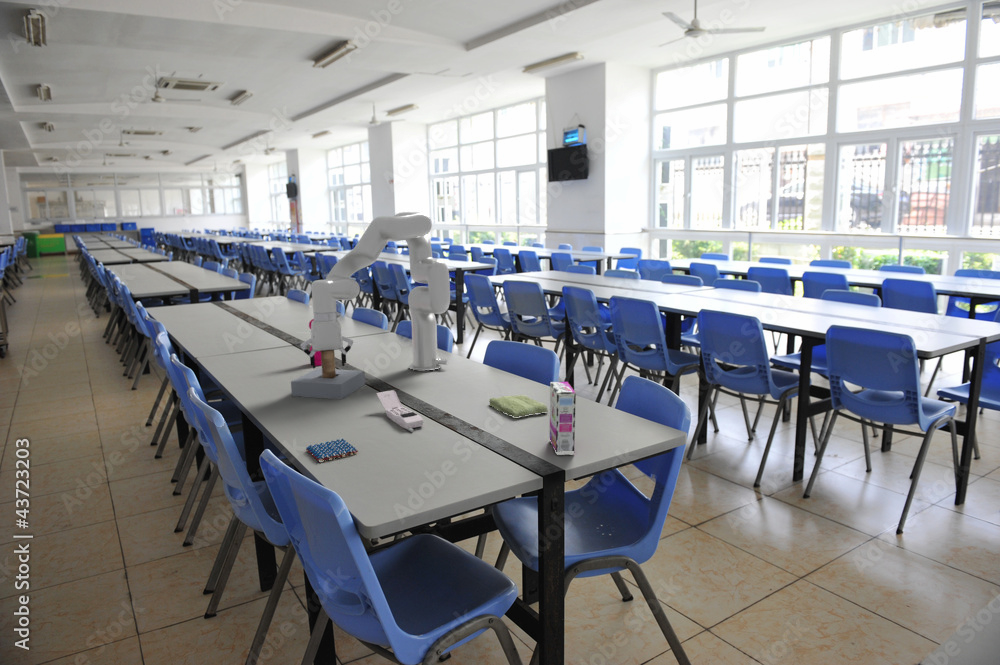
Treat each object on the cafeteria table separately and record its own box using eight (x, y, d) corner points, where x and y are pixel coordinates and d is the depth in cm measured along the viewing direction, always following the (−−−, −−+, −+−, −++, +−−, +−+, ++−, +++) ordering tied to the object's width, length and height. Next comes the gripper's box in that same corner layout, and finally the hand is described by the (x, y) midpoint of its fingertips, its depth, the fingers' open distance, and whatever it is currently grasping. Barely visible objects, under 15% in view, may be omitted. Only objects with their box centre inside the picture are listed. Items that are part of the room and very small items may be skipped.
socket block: (365, 384, 231) (364, 370, 230) (341, 399, 214) (340, 384, 213) (318, 381, 235) (317, 368, 234) (291, 396, 218) (290, 381, 217)
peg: (338, 388, 226) (336, 349, 224) (332, 392, 222) (330, 351, 219) (327, 388, 227) (324, 348, 224) (320, 391, 223) (318, 351, 220)
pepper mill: (323, 366, 258) (320, 316, 254) (306, 365, 259) (303, 315, 255) (331, 362, 265) (328, 313, 261) (315, 361, 266) (312, 312, 262)
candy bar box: (575, 455, 164) (576, 392, 161) (555, 456, 164) (556, 393, 161) (567, 440, 175) (568, 380, 172) (548, 440, 175) (549, 381, 171)
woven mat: (359, 456, 166) (359, 448, 166) (318, 465, 161) (318, 457, 160) (344, 444, 175) (344, 437, 174) (305, 452, 169) (304, 445, 169)
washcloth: (522, 400, 213) (522, 390, 212) (550, 415, 197) (550, 404, 197) (485, 405, 207) (485, 396, 206) (512, 421, 191) (512, 411, 191)
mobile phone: (393, 389, 204) (427, 409, 183) (394, 407, 205) (428, 429, 184) (375, 392, 201) (407, 413, 180) (376, 411, 202) (408, 434, 181)
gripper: (350, 313, 226) (353, 361, 229) (298, 316, 221) (302, 366, 224) (352, 317, 219) (355, 366, 222) (298, 320, 214) (302, 371, 217)
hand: (328, 366), depth 223 cm, fingers open, 9 cm apart
